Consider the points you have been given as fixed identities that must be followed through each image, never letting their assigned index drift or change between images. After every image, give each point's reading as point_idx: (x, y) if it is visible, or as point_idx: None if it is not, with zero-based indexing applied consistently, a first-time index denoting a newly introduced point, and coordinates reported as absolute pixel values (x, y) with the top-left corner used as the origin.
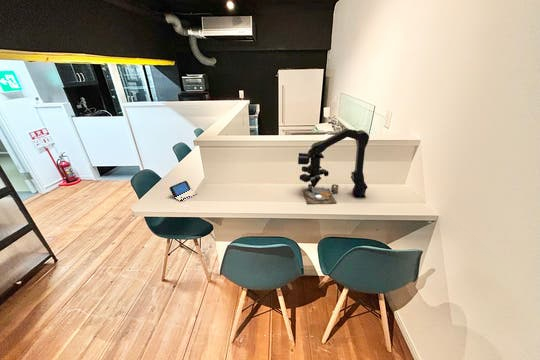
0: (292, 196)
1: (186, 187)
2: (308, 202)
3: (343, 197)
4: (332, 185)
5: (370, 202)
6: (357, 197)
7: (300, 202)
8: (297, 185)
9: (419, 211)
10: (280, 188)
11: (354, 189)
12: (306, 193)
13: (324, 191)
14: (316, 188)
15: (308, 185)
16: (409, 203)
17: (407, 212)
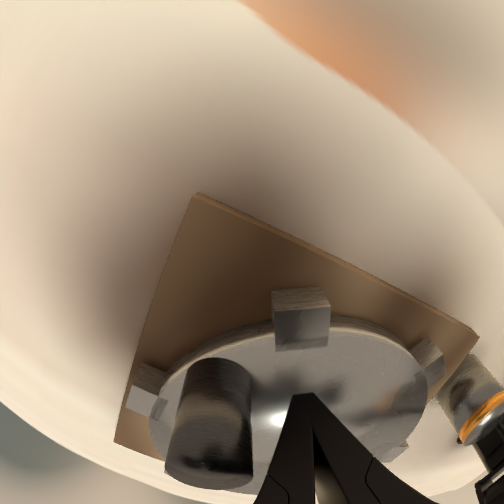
0: (23, 273)
1: None
2: (124, 444)
3: (427, 435)
4: (485, 420)
5: (448, 464)
6: (461, 441)
7: (73, 391)
8: (222, 4)
9: (462, 482)
10: (4, 49)
11: (487, 457)
12: (132, 407)
13: (369, 438)
14: (361, 367)
15: (165, 464)
16: None
17: (443, 490)
